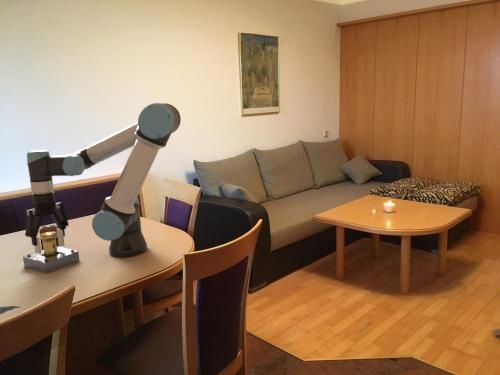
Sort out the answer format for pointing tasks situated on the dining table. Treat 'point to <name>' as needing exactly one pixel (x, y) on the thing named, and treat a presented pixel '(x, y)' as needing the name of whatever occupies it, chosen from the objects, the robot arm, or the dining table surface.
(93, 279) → the dining table surface
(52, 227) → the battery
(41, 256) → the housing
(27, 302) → the dining table surface
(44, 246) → the knob
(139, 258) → the dining table surface
